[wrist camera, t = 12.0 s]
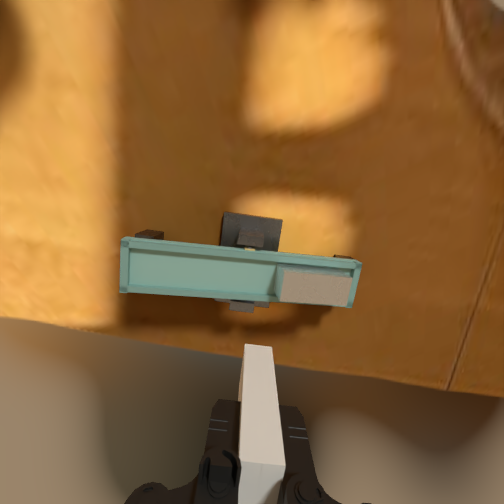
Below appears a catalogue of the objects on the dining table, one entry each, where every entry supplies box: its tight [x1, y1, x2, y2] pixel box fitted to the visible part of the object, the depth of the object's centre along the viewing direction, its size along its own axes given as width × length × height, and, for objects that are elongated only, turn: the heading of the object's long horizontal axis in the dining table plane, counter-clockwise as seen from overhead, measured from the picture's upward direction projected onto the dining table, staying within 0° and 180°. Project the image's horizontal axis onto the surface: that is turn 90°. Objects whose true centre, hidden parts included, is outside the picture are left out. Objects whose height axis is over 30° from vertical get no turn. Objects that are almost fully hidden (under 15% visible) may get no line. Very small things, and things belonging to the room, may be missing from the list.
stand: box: [135, 212, 355, 313], centre depth 35 cm, size 13×29×7 cm, turn 82°
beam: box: [120, 237, 362, 308], centre depth 32 cm, size 7×28×2 cm, turn 82°
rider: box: [273, 263, 353, 306], centre depth 32 cm, size 3×8×4 cm, turn 82°
